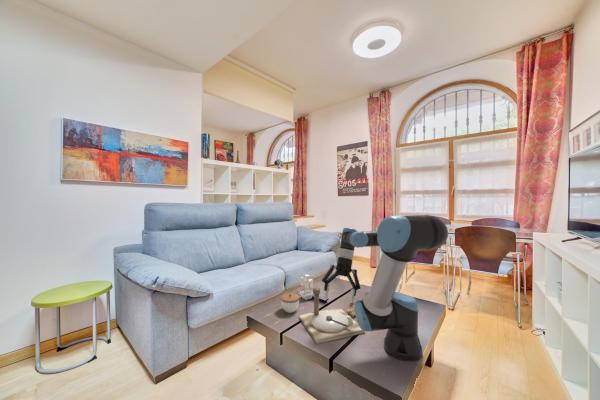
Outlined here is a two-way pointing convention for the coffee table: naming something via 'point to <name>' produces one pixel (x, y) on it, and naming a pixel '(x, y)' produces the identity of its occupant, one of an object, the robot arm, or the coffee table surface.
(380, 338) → the coffee table surface
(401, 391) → the coffee table surface
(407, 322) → the robot arm
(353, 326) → the beige flat board
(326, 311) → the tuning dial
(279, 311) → the coffee table surface
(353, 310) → the cat figure
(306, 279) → the figurine
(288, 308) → the lidded jar
